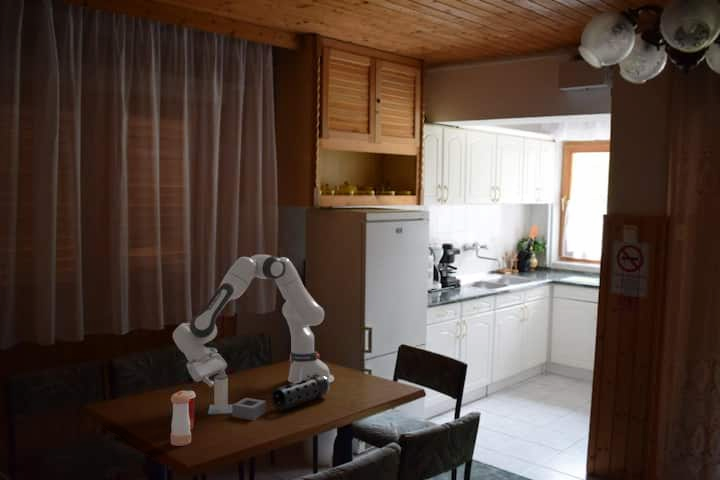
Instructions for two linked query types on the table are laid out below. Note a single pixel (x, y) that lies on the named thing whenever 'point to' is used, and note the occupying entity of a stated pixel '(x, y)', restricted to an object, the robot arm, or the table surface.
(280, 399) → the muzzle brake
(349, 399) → the table surface
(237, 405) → the header
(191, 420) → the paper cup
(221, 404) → the plug
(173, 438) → the pepper shaker
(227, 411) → the mat
